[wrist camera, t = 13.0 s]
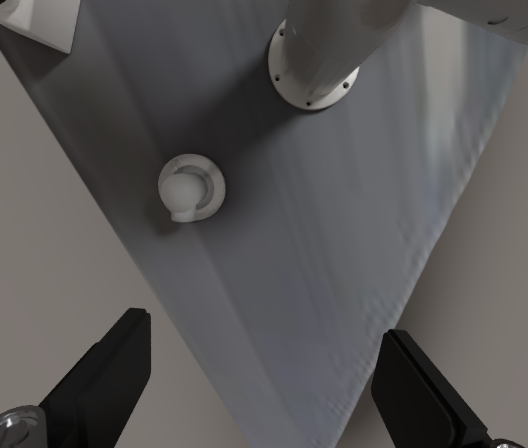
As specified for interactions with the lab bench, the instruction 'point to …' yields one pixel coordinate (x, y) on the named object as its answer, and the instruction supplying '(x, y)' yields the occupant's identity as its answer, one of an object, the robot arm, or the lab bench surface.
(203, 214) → the shallow grey dish
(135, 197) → the lab bench surface
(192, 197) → the white light bulb
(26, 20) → the medicine bottle
